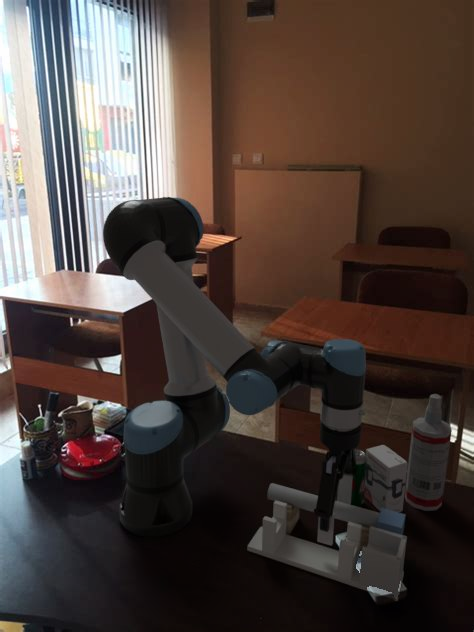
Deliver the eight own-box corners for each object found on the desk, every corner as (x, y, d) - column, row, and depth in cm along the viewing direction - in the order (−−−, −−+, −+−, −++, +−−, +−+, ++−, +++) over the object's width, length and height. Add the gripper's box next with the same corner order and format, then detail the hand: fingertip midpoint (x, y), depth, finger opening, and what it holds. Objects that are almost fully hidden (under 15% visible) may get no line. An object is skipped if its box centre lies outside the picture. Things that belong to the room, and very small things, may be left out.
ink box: (360, 494, 120) (364, 447, 117) (379, 489, 122) (383, 443, 119) (384, 517, 113) (390, 467, 110) (403, 511, 115) (409, 462, 112)
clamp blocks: (275, 530, 109) (276, 503, 107) (285, 514, 113) (286, 488, 112) (370, 559, 101) (372, 531, 99) (376, 541, 106) (378, 514, 104)
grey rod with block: (266, 503, 109) (266, 489, 108) (274, 492, 112) (274, 478, 112) (400, 543, 98) (401, 528, 97) (404, 528, 102) (405, 514, 101)
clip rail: (246, 551, 103) (247, 514, 100) (260, 529, 108) (261, 494, 106) (397, 602, 91) (401, 561, 89) (403, 575, 97) (408, 536, 95)
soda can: (363, 511, 115) (367, 461, 111) (339, 508, 116) (342, 458, 112) (362, 497, 119) (367, 449, 116) (339, 494, 120) (343, 446, 117)
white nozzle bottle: (443, 513, 114) (458, 405, 107) (407, 508, 116) (419, 402, 109) (437, 491, 122) (450, 389, 115) (403, 487, 123) (414, 387, 116)
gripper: (343, 459, 87) (336, 568, 93) (375, 400, 109) (368, 492, 114) (299, 449, 90) (295, 555, 96) (338, 394, 112) (333, 483, 118)
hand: (334, 521), depth 105 cm, fingers open, 13 cm apart
